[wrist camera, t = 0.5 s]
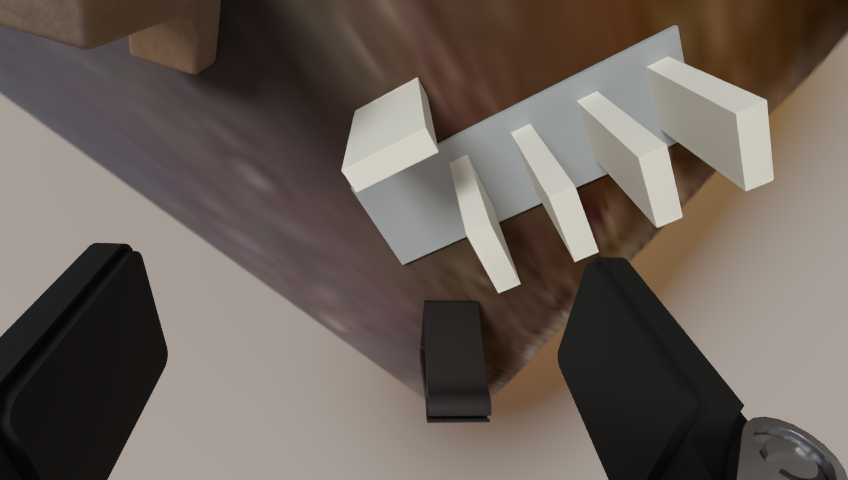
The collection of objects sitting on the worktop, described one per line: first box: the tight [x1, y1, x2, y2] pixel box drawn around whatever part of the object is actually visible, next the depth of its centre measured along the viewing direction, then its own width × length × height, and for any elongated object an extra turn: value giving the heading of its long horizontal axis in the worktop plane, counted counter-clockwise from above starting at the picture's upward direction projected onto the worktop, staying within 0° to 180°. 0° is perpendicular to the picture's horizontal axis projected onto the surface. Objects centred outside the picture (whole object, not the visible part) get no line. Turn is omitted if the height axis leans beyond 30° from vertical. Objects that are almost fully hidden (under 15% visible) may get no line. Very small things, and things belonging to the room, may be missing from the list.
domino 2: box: [449, 155, 521, 293], centre depth 38 cm, size 2×6×12 cm, turn 27°
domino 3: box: [511, 124, 599, 262], centre depth 37 cm, size 2×6×12 cm, turn 27°
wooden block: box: [0, 0, 221, 75], centre depth 27 cm, size 9×4×18 cm, turn 162°
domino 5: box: [647, 57, 774, 191], centre depth 35 cm, size 2×6×12 cm, turn 27°
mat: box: [351, 25, 684, 265], centre depth 43 cm, size 30×10×1 cm, turn 117°
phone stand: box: [420, 301, 491, 423], centre depth 49 cm, size 9×6×12 cm, turn 176°
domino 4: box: [577, 91, 682, 228], centre depth 36 cm, size 2×6×12 cm, turn 27°
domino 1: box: [341, 77, 439, 193], centre depth 34 cm, size 2×6×12 cm, turn 117°
